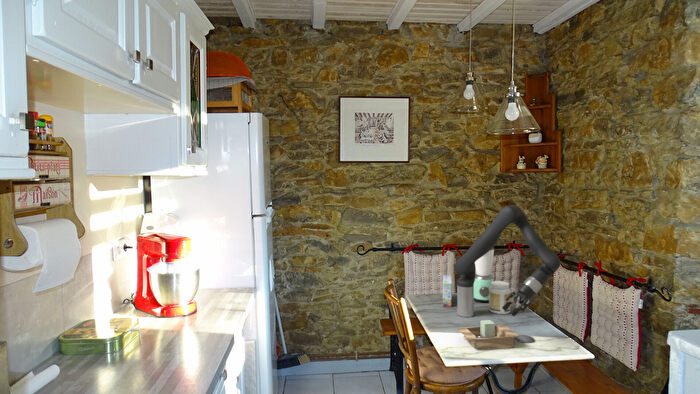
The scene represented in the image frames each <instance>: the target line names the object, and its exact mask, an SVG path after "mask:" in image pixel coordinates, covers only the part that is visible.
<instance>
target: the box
mask: <svg viewBox="0 0 700 394" xmlns="http://www.w3.org/2000/svg"><path fill="white" fill-rule="evenodd" d="M495 325H496V323H495V322H494V321H492V320H491V319H484V320H480V325H479V326H480V337H479V338H492V337H496V336H495Z"/></svg>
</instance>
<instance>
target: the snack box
mask: <svg viewBox="0 0 700 394" xmlns="http://www.w3.org/2000/svg"><path fill="white" fill-rule="evenodd" d="M452 284H453V283H452V275H443V277H442V307H444V308H452V299H453V298H452V296H453V292H452V291H453V289H452V288H453V285H452Z"/></svg>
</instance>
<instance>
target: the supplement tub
mask: <svg viewBox="0 0 700 394" xmlns="http://www.w3.org/2000/svg"><path fill="white" fill-rule="evenodd" d="M490 286H491V287H490V288H489V302H488V310H489V311H490V312H491V313H494V314H497V315H507V314H511V312H512V311H511V310H512V309H511V308H512V307H511V306H512V305H510V307H509V308H508V309H507V310H506V311H505V310H504V309H503V308H502V307H503V306H504V305H505V304H506V303H507V301H506V298H507V297H508V296H509V295H510V294H511V293H512V291H511V288H510V283H509V282H506V281H502V280H498V281H497V280H494V281H493V282H491V285H490ZM509 299H510V298H509Z"/></svg>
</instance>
